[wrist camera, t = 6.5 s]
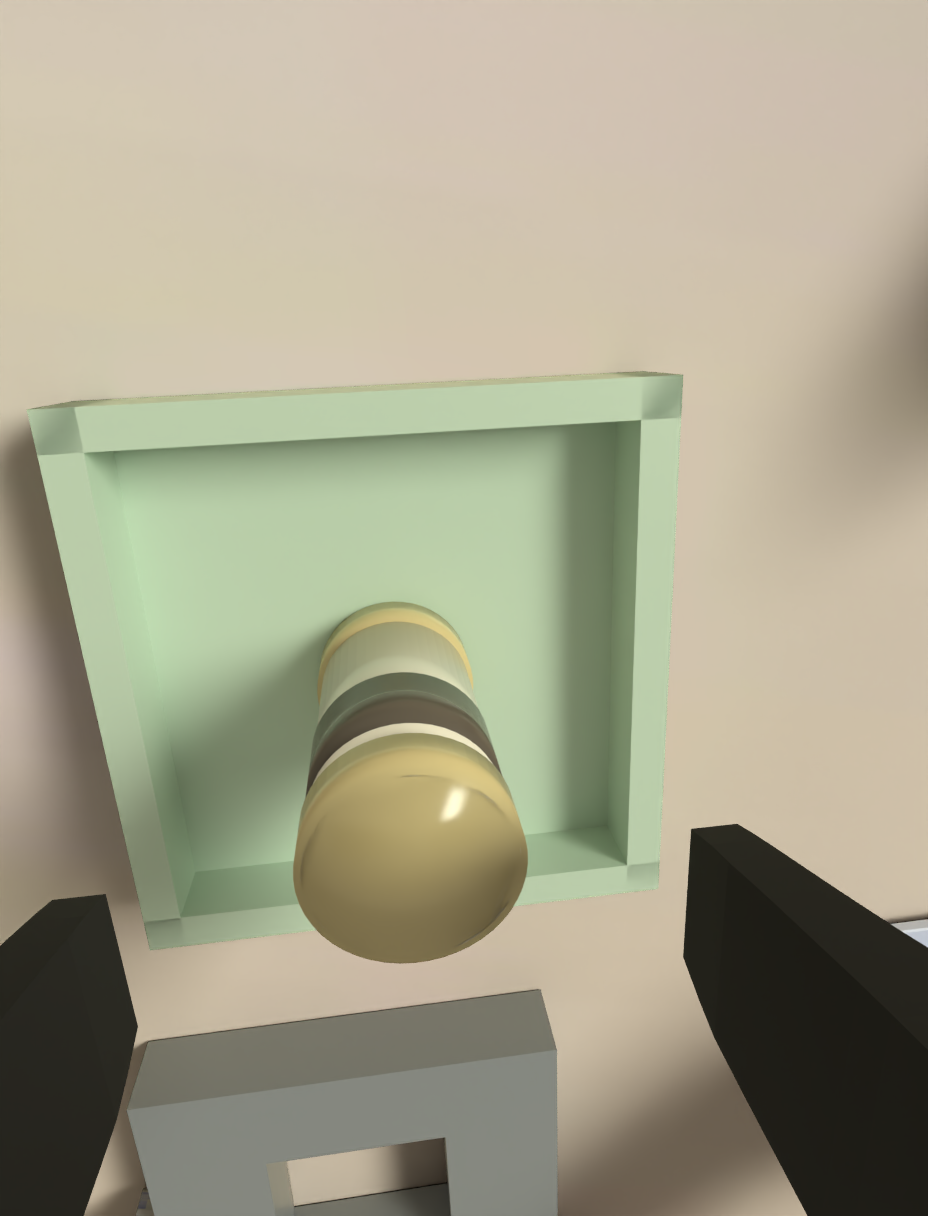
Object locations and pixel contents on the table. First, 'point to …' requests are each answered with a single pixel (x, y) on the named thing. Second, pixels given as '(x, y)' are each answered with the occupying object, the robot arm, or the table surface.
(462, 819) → the banded cream cylinder
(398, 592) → the parts tray
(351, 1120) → the fuse block
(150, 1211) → the caliper
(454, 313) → the table surface
